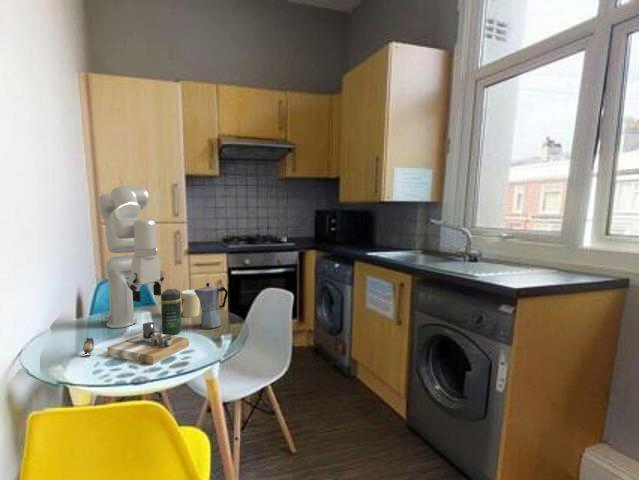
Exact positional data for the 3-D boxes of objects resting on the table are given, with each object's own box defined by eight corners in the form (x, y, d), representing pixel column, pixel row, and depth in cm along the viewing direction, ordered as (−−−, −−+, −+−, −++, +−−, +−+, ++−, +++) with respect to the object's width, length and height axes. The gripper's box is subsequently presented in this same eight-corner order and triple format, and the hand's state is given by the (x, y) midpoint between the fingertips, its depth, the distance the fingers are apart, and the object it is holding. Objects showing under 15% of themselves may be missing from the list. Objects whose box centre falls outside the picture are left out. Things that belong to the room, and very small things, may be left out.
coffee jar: (181, 334, 155) (180, 292, 153) (161, 336, 153) (159, 293, 151) (182, 327, 164) (180, 287, 163) (163, 329, 162) (161, 288, 160)
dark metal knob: (138, 341, 137) (138, 324, 137) (147, 338, 141) (146, 321, 140) (166, 346, 133) (165, 328, 132) (174, 342, 136) (173, 325, 136)
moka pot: (197, 322, 171) (196, 281, 169) (230, 322, 172) (229, 280, 170) (191, 329, 161) (190, 285, 159) (227, 329, 163) (226, 285, 161)
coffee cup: (184, 312, 187) (183, 289, 186) (202, 312, 188) (202, 289, 187) (179, 318, 178) (178, 294, 177) (198, 317, 179) (198, 293, 178)
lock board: (107, 355, 134) (106, 338, 133) (146, 338, 151) (146, 323, 150) (153, 364, 126) (152, 346, 126) (188, 345, 143) (188, 330, 142)
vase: (83, 351, 137) (84, 336, 137) (99, 352, 138) (100, 336, 137) (76, 357, 132) (77, 341, 131) (92, 357, 132) (93, 341, 132)
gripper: (155, 249, 144) (157, 292, 146) (118, 255, 128) (120, 302, 130) (170, 250, 142) (172, 293, 143) (134, 256, 126) (136, 305, 127)
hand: (147, 298), depth 137 cm, fingers open, 9 cm apart
